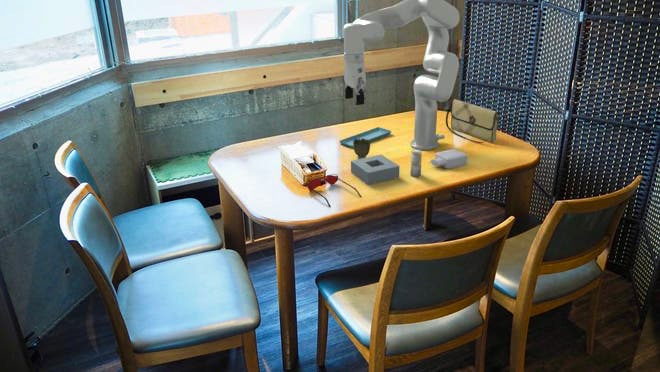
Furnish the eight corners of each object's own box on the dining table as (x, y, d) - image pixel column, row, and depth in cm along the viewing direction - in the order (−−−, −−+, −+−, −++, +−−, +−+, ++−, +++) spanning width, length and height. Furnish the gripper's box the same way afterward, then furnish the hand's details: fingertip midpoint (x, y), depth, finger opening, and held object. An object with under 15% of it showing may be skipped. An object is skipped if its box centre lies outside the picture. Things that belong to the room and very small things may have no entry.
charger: (423, 165, 226) (452, 158, 232) (437, 173, 219) (466, 165, 225) (423, 154, 224) (452, 147, 230) (438, 162, 217) (467, 154, 223)
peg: (417, 172, 219) (418, 149, 215) (422, 175, 216) (423, 152, 212) (408, 174, 218) (409, 150, 213) (414, 177, 214) (415, 154, 210)
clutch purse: (441, 130, 265) (443, 100, 258) (452, 127, 268) (454, 97, 262) (488, 147, 242) (492, 115, 236) (499, 144, 245) (503, 112, 239)
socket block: (381, 165, 226) (381, 154, 224) (399, 177, 215) (399, 165, 213) (350, 172, 221) (350, 160, 219) (367, 184, 209) (367, 172, 207)
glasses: (337, 183, 213) (336, 171, 211) (362, 198, 200) (362, 185, 198) (306, 192, 206) (305, 180, 204) (329, 208, 193) (329, 195, 191)
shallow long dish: (352, 150, 245) (352, 144, 244) (338, 145, 251) (338, 140, 250) (392, 135, 261) (392, 130, 260) (378, 131, 267) (378, 126, 266)
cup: (369, 162, 230) (369, 144, 227) (351, 161, 232) (351, 143, 228) (371, 155, 237) (371, 138, 234) (354, 154, 238) (354, 137, 235)
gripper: (373, 60, 201) (373, 105, 208) (352, 52, 216) (353, 94, 223) (355, 62, 199) (355, 108, 206) (335, 54, 213) (336, 97, 220)
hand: (354, 101), depth 214 cm, fingers open, 9 cm apart
